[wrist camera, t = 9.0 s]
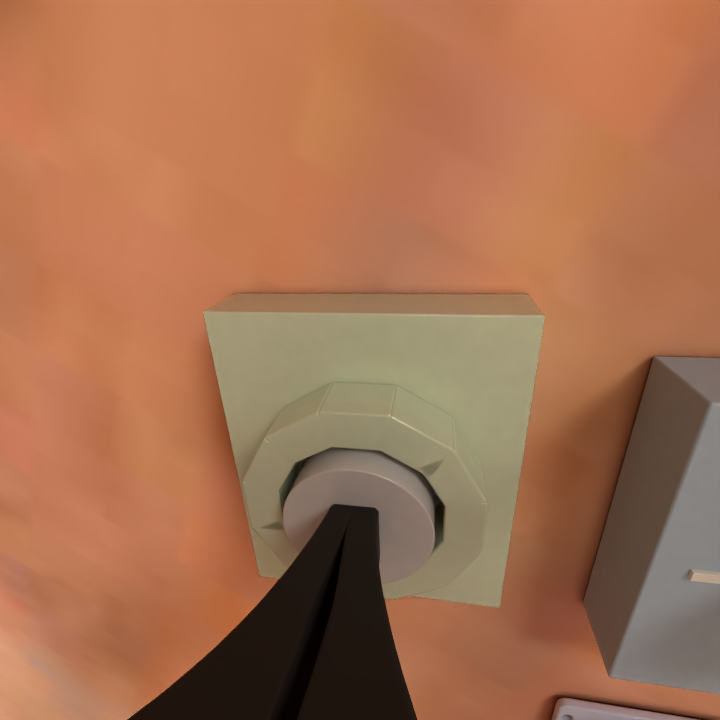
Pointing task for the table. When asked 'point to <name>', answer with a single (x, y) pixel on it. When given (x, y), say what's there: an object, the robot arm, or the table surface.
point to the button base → (385, 412)
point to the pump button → (366, 504)
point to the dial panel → (665, 537)
